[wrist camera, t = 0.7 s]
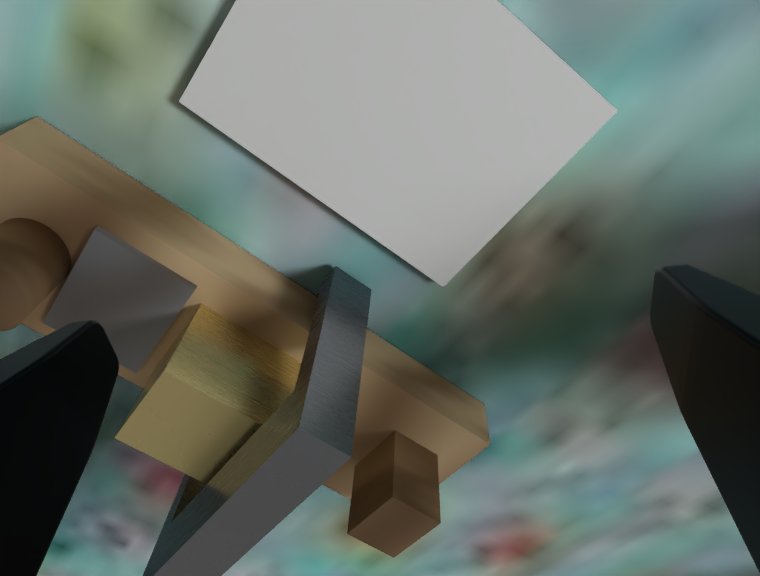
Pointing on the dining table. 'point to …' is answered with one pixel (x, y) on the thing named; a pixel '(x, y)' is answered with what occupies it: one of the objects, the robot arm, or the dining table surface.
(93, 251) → the plane body
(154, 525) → the dining table surface
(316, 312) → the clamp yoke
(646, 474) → the dining table surface
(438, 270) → the mat
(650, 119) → the dining table surface
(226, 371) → the olive wooden block
